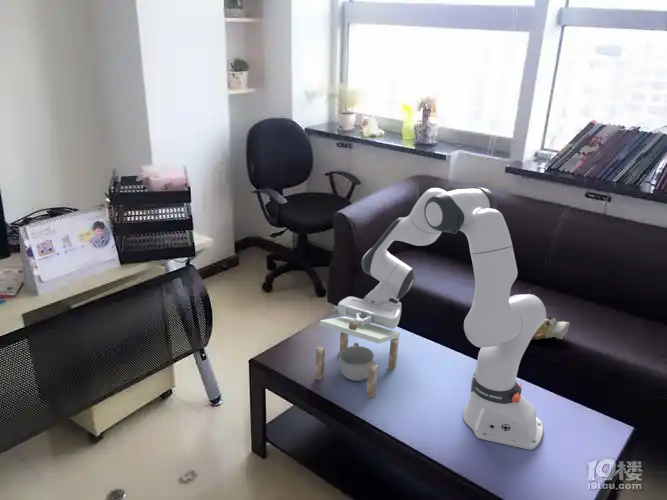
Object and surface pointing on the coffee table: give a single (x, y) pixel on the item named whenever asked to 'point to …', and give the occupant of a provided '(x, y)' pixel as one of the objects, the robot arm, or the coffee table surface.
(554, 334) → the ceramic sculpture
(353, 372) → the teacup
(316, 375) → the stand
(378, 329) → the lid
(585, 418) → the coffee table surface
